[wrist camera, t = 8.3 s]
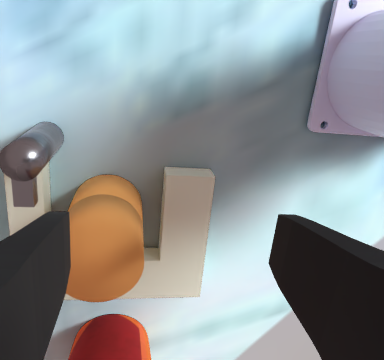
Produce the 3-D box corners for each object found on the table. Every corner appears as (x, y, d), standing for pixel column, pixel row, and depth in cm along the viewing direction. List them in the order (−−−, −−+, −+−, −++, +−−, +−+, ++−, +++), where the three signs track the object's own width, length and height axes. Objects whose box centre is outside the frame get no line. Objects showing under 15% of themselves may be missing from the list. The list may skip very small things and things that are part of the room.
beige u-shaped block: (210, 168, 22) (215, 177, 20) (196, 282, 25) (199, 296, 23) (13, 159, 20) (3, 168, 18) (24, 285, 23) (16, 301, 21)
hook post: (63, 122, 19) (40, 144, 15) (64, 172, 20) (44, 207, 16) (30, 120, 19) (-4, 142, 14) (33, 171, 20) (3, 206, 16)
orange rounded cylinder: (142, 174, 21) (144, 222, 15) (141, 235, 23) (143, 299, 17) (70, 174, 21) (43, 223, 15) (74, 236, 22) (51, 304, 16)
